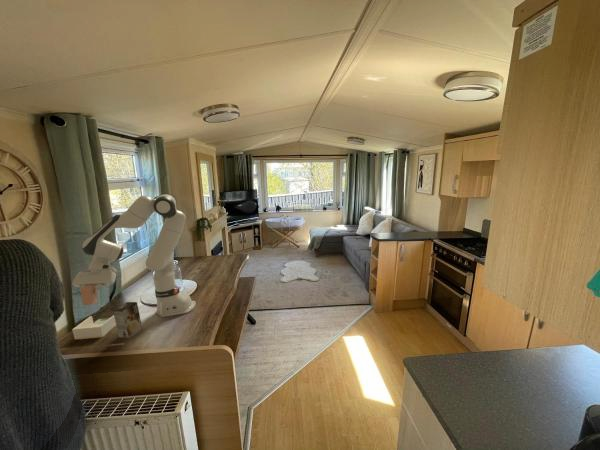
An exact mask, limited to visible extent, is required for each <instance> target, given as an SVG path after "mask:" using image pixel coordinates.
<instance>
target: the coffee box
mask: <svg viewBox="0 0 600 450" xmlns="http://www.w3.org/2000/svg"><path fill="white" fill-rule="evenodd" d="M112 311H113V312H112V313H113V315H114V317H115V322H116V326H115V327H116V329H117V335H118V338H127V339H128V340H129V339H131V338H132V337H134V336H135V335H136V334H137V333H139V332H140V331H141V330H143V326H142V319H141V315H140V312H139V311H140V310H139V307H138V301H127V302H125V303H123V304H121V305H120V306H118V307H116V308H114V309H113V310H112Z"/></svg>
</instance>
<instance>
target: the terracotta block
mask: <svg viewBox="0 0 600 450" xmlns="http://www.w3.org/2000/svg"><path fill="white" fill-rule="evenodd" d="M96 288H97V286H95V285H86V286H84V287H83V288H81V287H80V288H79V291H80V292H79V293H80V296H81V299H82V304H83V306H91V305H94V304H95V303H97V302H98V301H99V298H98V293H93V291H94V289H96Z"/></svg>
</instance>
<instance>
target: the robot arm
mask: <svg viewBox="0 0 600 450" xmlns="http://www.w3.org/2000/svg"><path fill="white" fill-rule="evenodd" d="M177 204H178V202H177V198H175V196H174V195H173V194H170V193H162V194H160V195H158V196H155V197H154V198H152V197H150V196H148V195H141V196H139V197H138V198H137V199H135V200H134V201H133V203H131V205H130V206H129V207H128V209H127V210H126V211H124V212H123V213H120V214H114V215H113V216H111V218H109V220H107V221H106V222H104V224H103V225H102V226H101V227H99V228H98V229H97V230H96V231H95V232H94V233H93V234H91V235H90V236H89V237H88V238H87V239H86V240H85V241H84V242H83V243H82V246H81V249H82V251H83V253H84V254H85V255H88V256H92V257H93V259H92V261H91V262H90V264H89V266H88V269H83V270H81V271H79V272H77V274H76V275H75V276H74V278H73V281H72V283H71V284H72V286H73V287H75V288H80V289H81V288H83V287H84V286H86V285H95V287H96V289H94V291H93V293H97V294H98V293H99V291H100V290H101V289H102V288H103V286H111V285H113V284H115V282H116V279H117V272H118V270H117V268H115V267H114V266H112V265H111V263H113V262H116V261H119V260H120V259H121V258H122V256H123V254H124V247H123V246H122V245H120V244H118V243H115V242H112V241H110V240H106V239H104V238H105V237H106V236H107V235H109V234H110V233H111V231H113V230H115V229H123V228H125V229H138V228H141V227H143V226H144V225H145V224H146V222H148V220H149V218H150V217H151V216H152V215H153V214H154V213H157V214H158V215H159V216H161V217H162V218H164V222H163V224H162V226H161V229H160V232H159V233H158V236H157V239H156V240H155V241H154V244H153V245H152V248H151V250H150V251H149V254H148V255H147V258H146V259H145V266H146V268H147V269H148V270H149V271H150V272H153V273H154V274H153V283H154V288H155V290H154V294H155V298H156V312H155V314H156V315H158V316H160V318H166V317H171V316H177V315H182V314H188V313H189V312H190V313H191V311H192V310H194V308H196V301H195V300H192V298H191V296H190V295H189V294H188V293H185V292H183V291H180V289H181V285H179V286H177V285H176V281H175V272H174V271H175V260H174V259H175V258H174V257H175V251H174V250H175V249H176V246H177V245H178V244H179V240H180V238H181V235H182V234H183V231H184V228H185V224H186V221H187V220H186V219H187V217H186V214H185V213H184V212H182V211H181V210H178V209H177Z"/></svg>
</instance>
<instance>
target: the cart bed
mask: <svg viewBox="0 0 600 450" xmlns="http://www.w3.org/2000/svg"><path fill="white" fill-rule="evenodd" d="M114 327H115V328H116V327H117V326H116V322H115V317H114V314H113V315H112V316H111V317H109V319H108V320H107V321H106V322H104V323H100V324H94V319H93V316H92V315H90V316H89V317H87V318H86V319H85V320H83V321H82V322H80V323H78V325H76V326H75V327H73V328H72V329H71V330H72V334H73V337H74V340H84V339H93V338H94V339H97V338H104V337H105V336H106V334H108V333H109V332H111V330H112V329H114Z"/></svg>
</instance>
